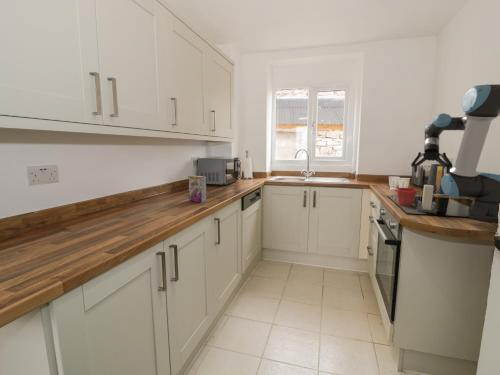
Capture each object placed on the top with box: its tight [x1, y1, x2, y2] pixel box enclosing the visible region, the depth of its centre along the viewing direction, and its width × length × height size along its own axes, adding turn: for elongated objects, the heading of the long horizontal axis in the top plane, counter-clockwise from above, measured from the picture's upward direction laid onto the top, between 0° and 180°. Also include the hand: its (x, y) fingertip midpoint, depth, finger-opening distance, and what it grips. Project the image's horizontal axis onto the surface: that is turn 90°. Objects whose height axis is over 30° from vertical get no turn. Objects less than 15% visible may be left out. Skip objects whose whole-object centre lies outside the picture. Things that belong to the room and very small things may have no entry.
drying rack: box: [415, 200, 437, 214], centre depth 151 cm, size 9×8×5 cm
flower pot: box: [396, 187, 418, 207], centre depth 168 cm, size 11×11×10 cm
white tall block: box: [421, 184, 435, 210], centre depth 151 cm, size 4×6×13 cm, turn 151°
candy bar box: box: [188, 174, 207, 204], centre depth 173 cm, size 11×5×16 cm, turn 58°
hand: (430, 177), depth 155 cm, fingers open, 13 cm apart
